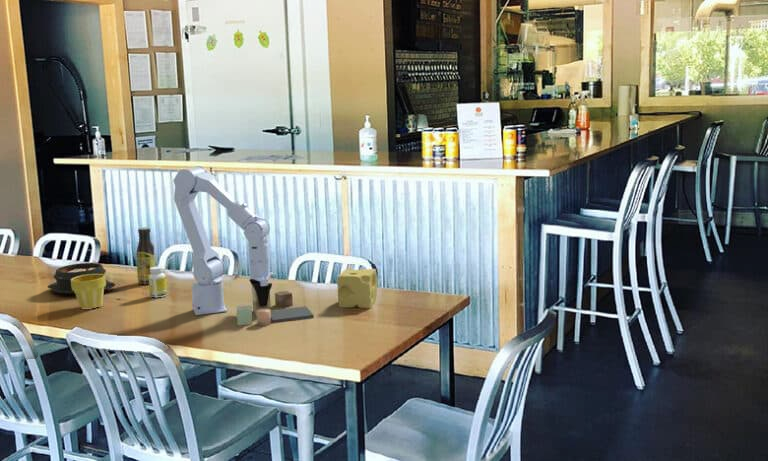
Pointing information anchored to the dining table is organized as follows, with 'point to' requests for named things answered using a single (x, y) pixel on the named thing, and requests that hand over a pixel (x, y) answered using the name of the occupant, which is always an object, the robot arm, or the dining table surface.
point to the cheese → (357, 288)
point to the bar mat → (290, 314)
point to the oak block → (256, 303)
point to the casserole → (74, 270)
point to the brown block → (263, 317)
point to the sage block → (244, 315)
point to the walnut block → (283, 299)
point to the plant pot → (89, 289)
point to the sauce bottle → (144, 255)
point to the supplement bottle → (157, 282)
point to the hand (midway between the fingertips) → (261, 303)
